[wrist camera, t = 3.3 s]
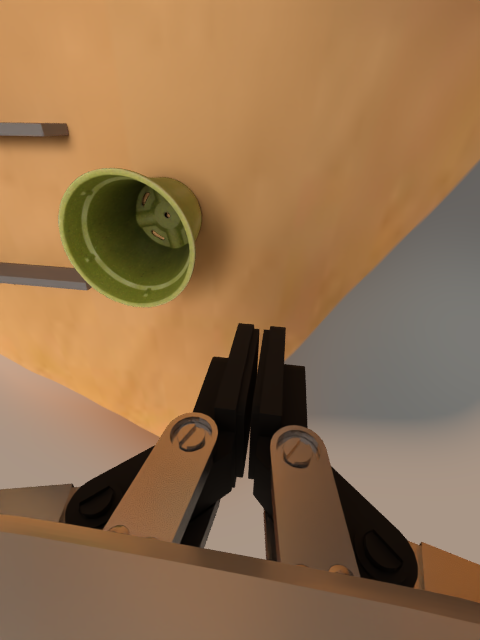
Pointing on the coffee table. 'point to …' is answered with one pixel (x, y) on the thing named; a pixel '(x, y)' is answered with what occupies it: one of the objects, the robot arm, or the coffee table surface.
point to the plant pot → (130, 235)
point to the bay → (36, 273)
